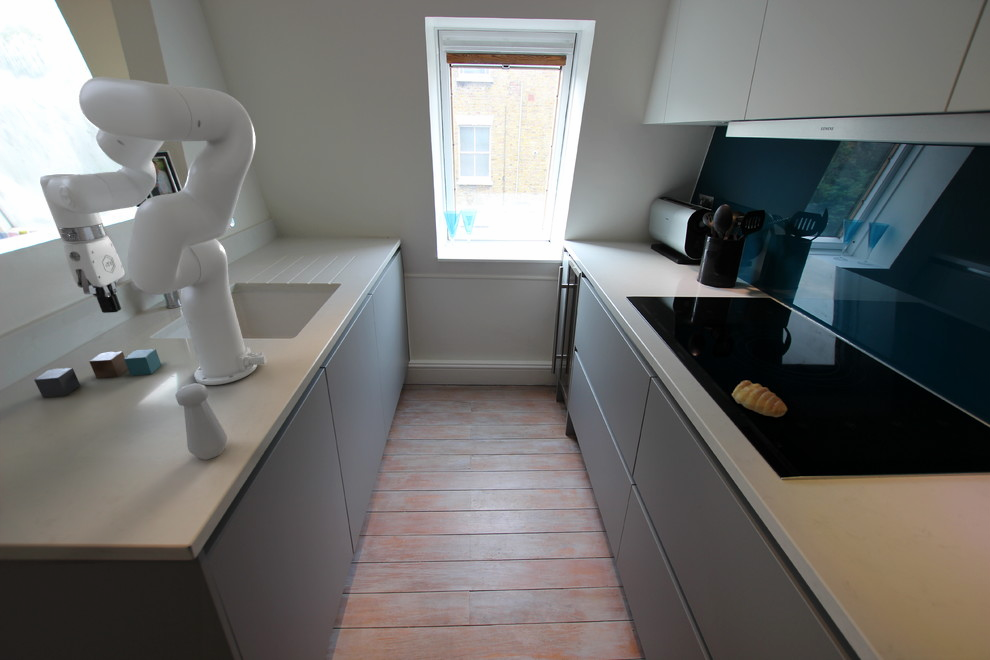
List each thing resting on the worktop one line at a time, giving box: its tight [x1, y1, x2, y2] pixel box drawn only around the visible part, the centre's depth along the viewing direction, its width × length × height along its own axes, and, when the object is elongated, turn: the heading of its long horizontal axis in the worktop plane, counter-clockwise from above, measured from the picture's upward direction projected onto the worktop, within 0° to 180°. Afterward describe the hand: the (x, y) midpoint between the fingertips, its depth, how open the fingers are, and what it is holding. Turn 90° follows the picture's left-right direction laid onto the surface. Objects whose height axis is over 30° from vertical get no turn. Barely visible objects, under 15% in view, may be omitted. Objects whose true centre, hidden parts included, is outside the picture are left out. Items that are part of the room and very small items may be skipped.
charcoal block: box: [34, 367, 81, 399], centre depth 94 cm, size 4×4×4 cm
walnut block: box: [88, 350, 128, 379], centre depth 102 cm, size 4×4×4 cm
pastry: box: [731, 380, 788, 418], centre depth 88 cm, size 9×7×4 cm
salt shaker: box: [175, 382, 228, 461], centre depth 74 cm, size 6×6×13 cm
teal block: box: [124, 348, 162, 377], centre depth 103 cm, size 4×4×4 cm
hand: (112, 311), depth 104 cm, fingers closed
